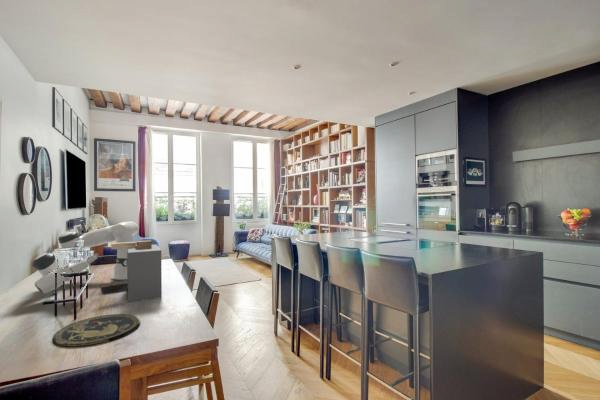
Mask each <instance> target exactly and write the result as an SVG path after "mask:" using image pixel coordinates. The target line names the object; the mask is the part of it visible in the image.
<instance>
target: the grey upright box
mask: <svg viewBox="0 0 600 400" xmlns="http://www.w3.org/2000/svg"><path fill="white" fill-rule="evenodd" d="M126 281H127V282H126V283H127V290H128V291H127V292H128V295H127V297H128V298H127V299H128V301H127V302H128V303H132V302H133V303H134V302H140V301H146V300H152V299H159V298H160V299H161V298H163V297H162V294H163V293H162V289H163V288H162V286H163V285H162V249H161V248H160V247H159V245H158V244H152V248H149V249H136V248H127V279H126Z"/></svg>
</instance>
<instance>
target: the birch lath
mask: <svg viewBox="0 0 600 400" xmlns="http://www.w3.org/2000/svg"><path fill="white" fill-rule="evenodd" d="M110 245H111V246H110V247H111V248H110V249H111V250H117V249H124V248H136V245H137V241H133V242H124V243H116V242H110Z"/></svg>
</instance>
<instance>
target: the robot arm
mask: <svg viewBox="0 0 600 400" xmlns="http://www.w3.org/2000/svg"><path fill="white" fill-rule="evenodd" d="M139 231H140V226H139V224H138V223H137V222H134V221H130V220H129V221H122V222H118V223H117V224H113V225H108V226H105V227H101V228H97V229H94V230H90V231H88V232H86V233H84V234H81V233H79V232H76V231H68V232H64V233H62V234H61V235H59V237H58V243H59V244H60V247H57V248H54V249H49V250H46V251H45V252H43V253H42V254H40V255H38V256H37V257H35V258H34V259H33V261H32V265H31V266H32V267H33V268H34V269H35V270H36V271H37V272H38V273H39V274H40V275H41V276H42V277H41V278H39V279H37V280H36V281H35V282H34V286H35V288H36V289H37V290H38V291H39V292H40V293H41V294H48V293H49V292H51V291H54V290H56V289H58V288H59V287H61V286H63V285H64V284H65V283H66V282H70V281H72V280H73V279H75V278H77V277H78V276H76V277H75V278H74V276H73V277H64V276H61V275H60V272H66V273H67V274H71V273H73V272H74V273H79V274H81V272H82V271H84V270H85V269H87V268H89V266H90V264H91V263H93V262H94V261H96V260H97V259H98V257H99V254H98V253H96V252H95V254H92V255H90V256H89V255H88V256H86V257H84V259H83V260H81V261H80V262H79V263H75V262H73V263H70V262H68V263H66V264H65V265H63V266H61V267H59V268H58V262H57V259H56V258H55V256H54V254H53V252H54V251H57V250H59V249H62V248H71V247H74V246H75V242H74V241H76V240H80V239H82V240H84V247H85V248H93V247H97V246H101V245H106V244H109V243H114V242H115V243H124V242H134V239H133V237H134V236H135V235H137V234H138V233H139ZM116 250H117V251H116V252H117V253H116V264H115V266H114V267H113V275H112V276H111V277H110V279H111V280H127V248H124V249H116ZM57 268H58V269H57ZM55 269H57V270H55ZM53 270H55V271H53ZM50 271H53V272H50ZM49 272H50V273H49ZM55 273H57V288H56V289H55ZM63 281H64V284H63Z"/></svg>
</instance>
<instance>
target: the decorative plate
mask: <svg viewBox="0 0 600 400" xmlns="http://www.w3.org/2000/svg"><path fill="white" fill-rule="evenodd" d="M140 326H141V321H140V318H139V317H138V316H135V315H133V314H127V313H126V314H125V313H115V314H105V315H99V316H98V315H97V316H94V317H93V316H92V317H88V318H86V319H85V318H84V319H82V320H77V321H75V322H73V323H70V324H68V325H66V326H64V327H62V328H61V329H59V330H57V331H56V333H54V335H53V337H52V343H53V344H54V345H56V347H57V346H58V347H61V348H86V347H93V346H98V345H99V346H100V345H102V344H107V343H110V342H113V341H116V340H119V339H123V338H124V337H126V336H128V335H131V334H133V333H134V332H135V331H137V330H138V329H139V328H140Z"/></svg>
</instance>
